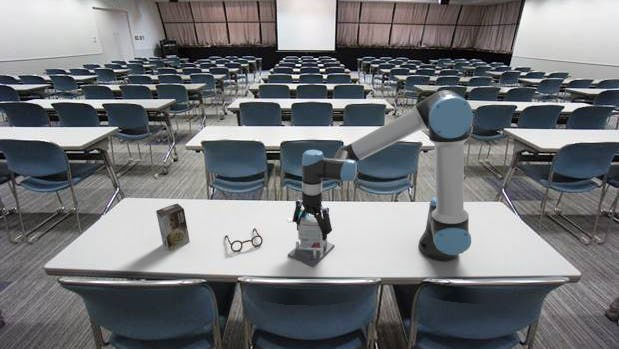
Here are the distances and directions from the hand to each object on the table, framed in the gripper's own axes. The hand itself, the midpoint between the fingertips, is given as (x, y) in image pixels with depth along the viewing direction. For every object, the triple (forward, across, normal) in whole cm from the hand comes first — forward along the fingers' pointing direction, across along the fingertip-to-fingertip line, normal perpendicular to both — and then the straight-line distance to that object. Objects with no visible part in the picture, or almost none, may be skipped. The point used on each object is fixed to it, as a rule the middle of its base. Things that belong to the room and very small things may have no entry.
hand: (311, 242), depth 129 cm
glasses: (+5, +28, +10) cm, 30 cm away
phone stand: (+5, +18, -18) cm, 26 cm away
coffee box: (+5, +50, +27) cm, 57 cm away
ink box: (+1, 0, 0) cm, 1 cm away
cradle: (+4, 0, 0) cm, 4 cm away
